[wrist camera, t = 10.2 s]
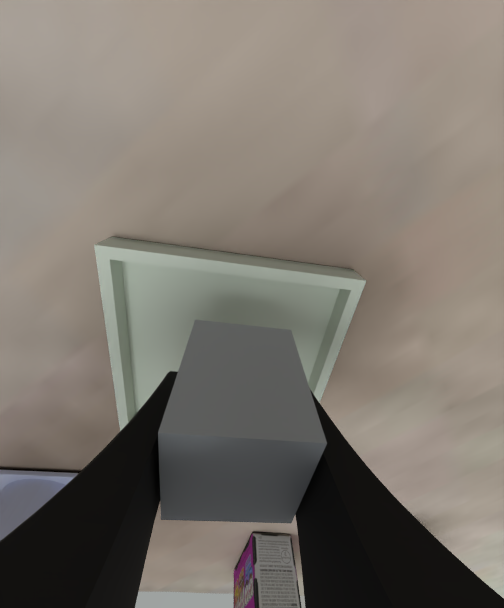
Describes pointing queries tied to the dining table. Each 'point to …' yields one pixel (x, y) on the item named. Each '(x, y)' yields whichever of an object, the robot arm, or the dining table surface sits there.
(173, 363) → the tray
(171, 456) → the grey block
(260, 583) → the candy bar box
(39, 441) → the dining table surface
